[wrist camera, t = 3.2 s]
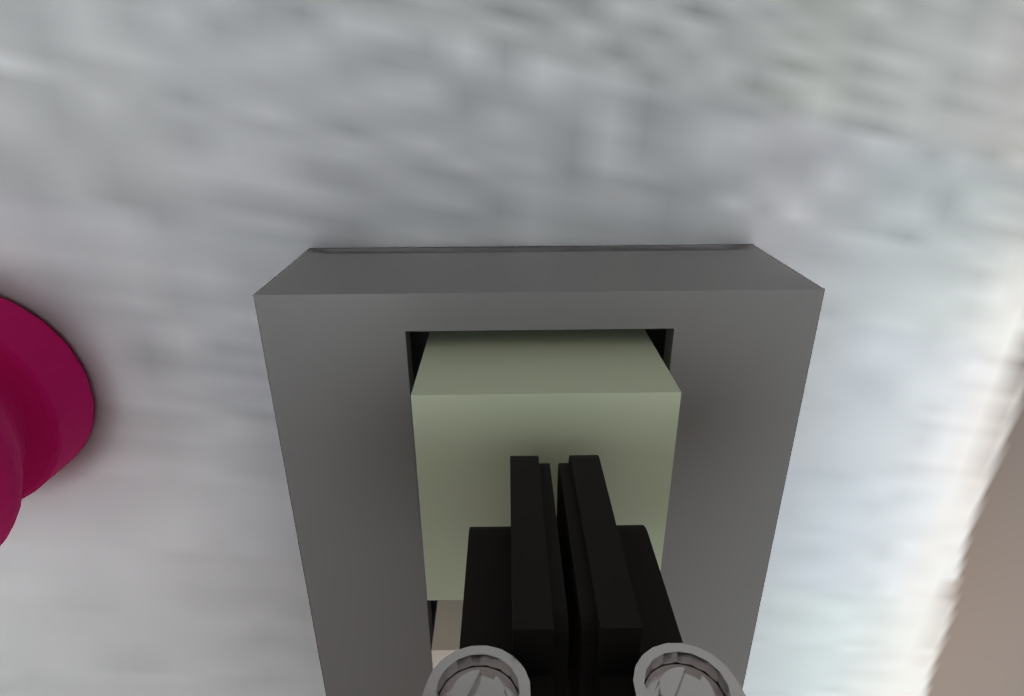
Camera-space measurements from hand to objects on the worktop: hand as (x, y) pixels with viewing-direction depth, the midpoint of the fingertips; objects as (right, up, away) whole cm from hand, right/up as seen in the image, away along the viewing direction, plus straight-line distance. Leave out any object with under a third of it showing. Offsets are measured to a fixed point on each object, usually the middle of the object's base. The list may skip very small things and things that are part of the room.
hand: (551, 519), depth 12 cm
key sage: (0, +2, +4) cm, 4 cm away
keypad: (0, -6, +10) cm, 12 cm away
